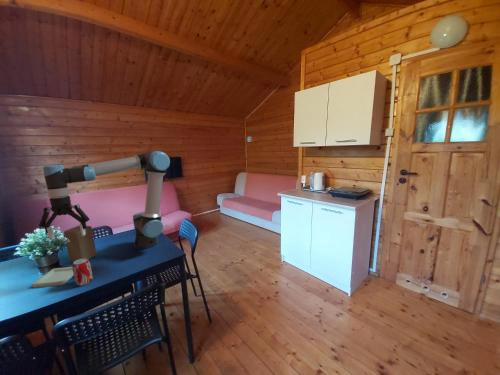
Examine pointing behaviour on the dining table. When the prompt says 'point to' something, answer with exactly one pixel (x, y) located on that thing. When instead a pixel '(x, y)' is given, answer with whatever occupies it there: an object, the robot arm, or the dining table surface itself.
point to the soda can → (82, 271)
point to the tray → (54, 277)
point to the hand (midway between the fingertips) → (68, 237)
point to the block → (80, 243)
